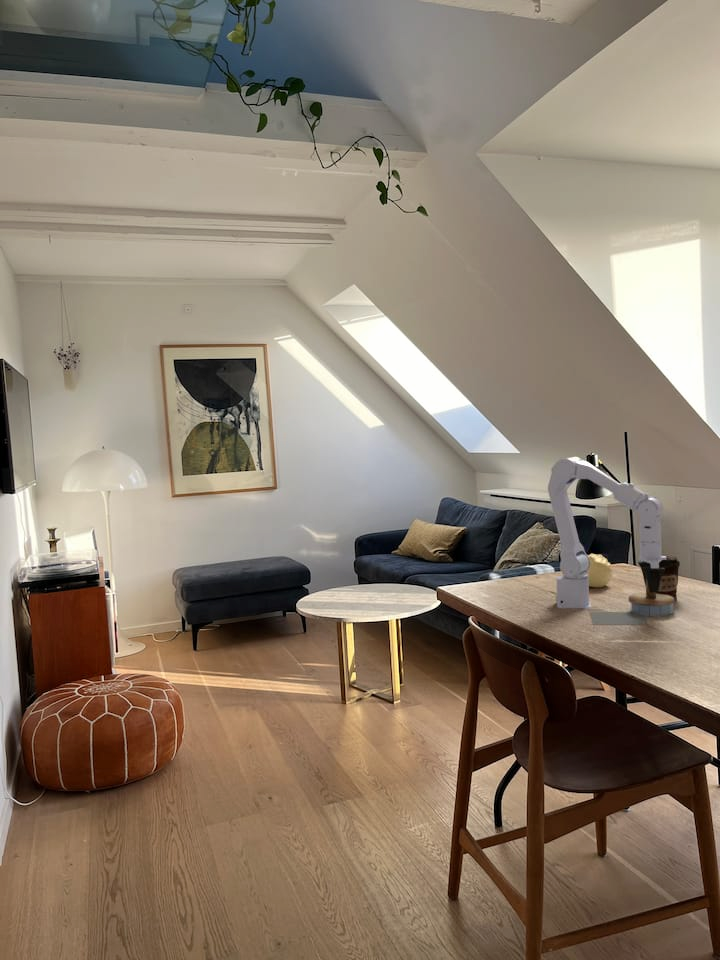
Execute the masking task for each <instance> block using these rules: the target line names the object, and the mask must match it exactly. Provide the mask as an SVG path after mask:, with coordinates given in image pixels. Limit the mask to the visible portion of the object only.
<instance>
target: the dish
mask: <svg viewBox="0 0 720 960" xmlns="http://www.w3.org/2000/svg"><path fill="white" fill-rule="evenodd" d="M630 612H632V613H635V614H638V615H643V616H644V617H667V616H671V615H673V614H674V613H675V602H674V603H672V604H669V605H662V606H648V605H639V604H634V603H631V602H630Z"/></svg>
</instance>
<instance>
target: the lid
mask: <svg viewBox="0 0 720 960" xmlns="http://www.w3.org/2000/svg"><path fill="white" fill-rule="evenodd" d="M627 597H628V602H630V604H631V603H634V604H639V605H648V606H662V605H669V604H672V603H674V604H675V601H674V597H672V596H669V595H664V594H656V593H650V591H649V588H648V582H647V580H646V586H645V592H644V593H635V594H630V595H629V596H627Z"/></svg>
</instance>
